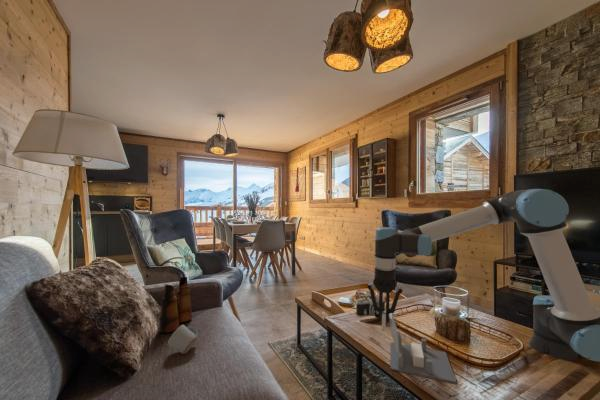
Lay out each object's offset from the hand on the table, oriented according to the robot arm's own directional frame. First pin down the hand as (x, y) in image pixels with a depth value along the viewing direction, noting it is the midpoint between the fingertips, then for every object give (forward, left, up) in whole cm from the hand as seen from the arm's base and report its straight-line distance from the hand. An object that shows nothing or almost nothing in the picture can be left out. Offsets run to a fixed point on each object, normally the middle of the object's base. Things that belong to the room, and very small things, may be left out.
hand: (383, 329), depth 98 cm
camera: (+6, -33, -10) cm, 35 cm away
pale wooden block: (-12, 0, -9) cm, 15 cm away
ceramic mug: (+74, +23, -10) cm, 78 cm away
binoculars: (+94, +7, -10) cm, 95 cm away
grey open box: (-12, 0, -10) cm, 16 cm away
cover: (-5, 0, -5) cm, 7 cm away
